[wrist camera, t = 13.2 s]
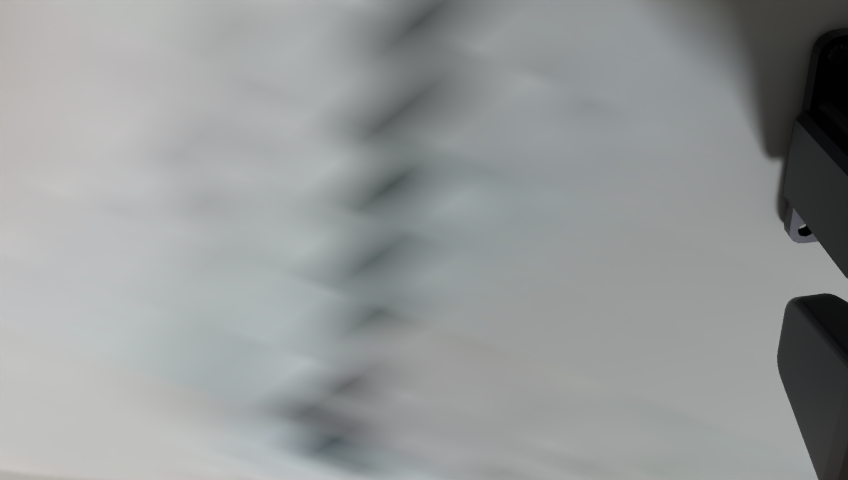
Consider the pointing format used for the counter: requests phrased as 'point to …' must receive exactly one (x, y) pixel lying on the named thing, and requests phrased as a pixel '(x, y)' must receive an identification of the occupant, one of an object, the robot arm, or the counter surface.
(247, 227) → the counter surface
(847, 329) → the robot arm
